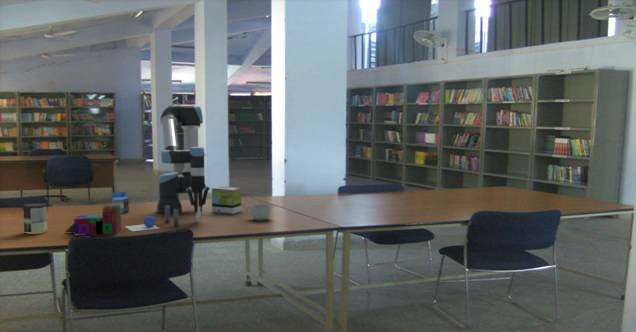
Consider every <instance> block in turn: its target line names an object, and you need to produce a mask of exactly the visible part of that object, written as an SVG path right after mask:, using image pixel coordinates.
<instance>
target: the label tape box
mask: <svg viewBox="0 0 636 332" xmlns="http://www.w3.org/2000/svg"><path fill="white" fill-rule="evenodd" d="M129 202H130V201H129V198H128V197H127V191H121V192H120V191H119V192H118V191H117V192H112V193H111V204H119V205H120V210H121V214H124V213H129V212H130V206H129V205H130V203H129Z"/></svg>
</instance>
